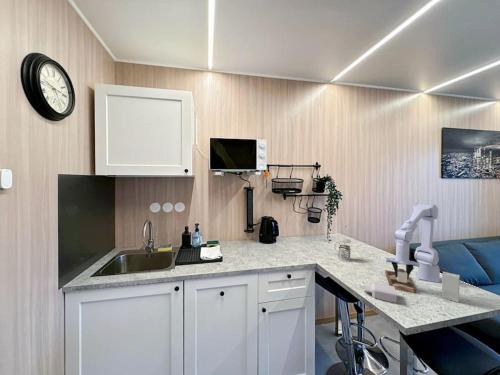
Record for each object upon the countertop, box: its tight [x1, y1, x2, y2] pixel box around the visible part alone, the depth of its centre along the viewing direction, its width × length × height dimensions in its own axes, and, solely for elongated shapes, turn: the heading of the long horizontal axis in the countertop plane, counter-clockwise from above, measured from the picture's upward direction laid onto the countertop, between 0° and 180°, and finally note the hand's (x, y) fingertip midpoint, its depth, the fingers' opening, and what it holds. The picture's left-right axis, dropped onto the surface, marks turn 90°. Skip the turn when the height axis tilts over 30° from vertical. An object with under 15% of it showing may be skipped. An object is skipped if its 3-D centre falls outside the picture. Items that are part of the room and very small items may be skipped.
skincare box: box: [441, 271, 461, 303], centre depth 102 cm, size 6×4×12 cm
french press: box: [334, 224, 353, 263], centre depth 153 cm, size 10×12×25 cm
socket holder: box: [384, 269, 417, 294], centre depth 119 cm, size 11×21×2 cm, turn 154°
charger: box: [359, 282, 398, 304], centre depth 105 cm, size 5×9×15 cm
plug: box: [395, 267, 407, 283], centre depth 113 cm, size 4×5×6 cm
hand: (401, 277), depth 113 cm, fingers closed on plug, 4 cm apart
